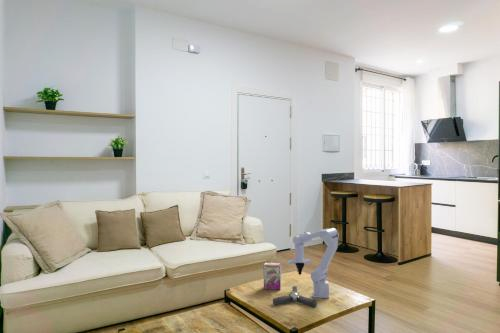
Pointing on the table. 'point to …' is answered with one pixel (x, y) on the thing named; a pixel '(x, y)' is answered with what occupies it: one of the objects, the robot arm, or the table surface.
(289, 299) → the stool base
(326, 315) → the table surface
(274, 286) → the candy bar box
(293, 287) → the folding foot
